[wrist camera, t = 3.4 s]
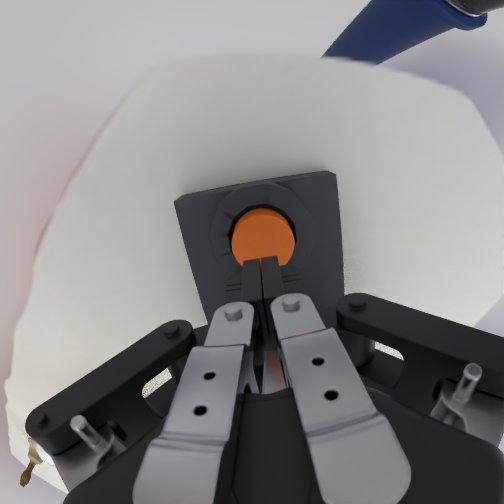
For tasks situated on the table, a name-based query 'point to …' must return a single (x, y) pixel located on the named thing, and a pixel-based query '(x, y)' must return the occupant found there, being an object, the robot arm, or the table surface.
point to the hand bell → (33, 461)
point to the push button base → (296, 214)
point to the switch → (262, 236)
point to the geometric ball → (44, 455)
